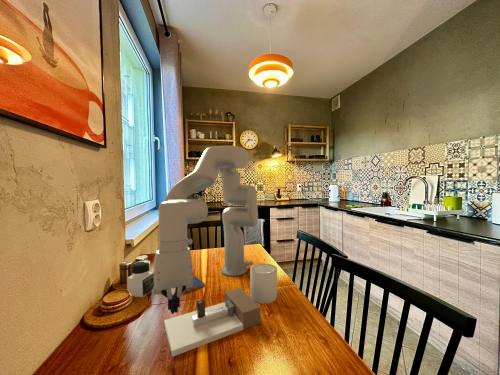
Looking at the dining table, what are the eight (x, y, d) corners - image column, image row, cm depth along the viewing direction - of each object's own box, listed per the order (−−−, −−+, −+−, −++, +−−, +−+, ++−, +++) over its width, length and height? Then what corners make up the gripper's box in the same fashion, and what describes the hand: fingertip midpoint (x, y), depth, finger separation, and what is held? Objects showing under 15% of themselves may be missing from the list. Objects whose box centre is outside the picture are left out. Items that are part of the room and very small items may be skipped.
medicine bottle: (143, 297, 82) (142, 266, 82) (126, 296, 84) (126, 265, 83) (155, 288, 89) (154, 260, 89) (139, 287, 91) (139, 259, 90)
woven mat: (206, 287, 91) (206, 282, 91) (181, 296, 84) (181, 290, 84) (195, 279, 99) (195, 274, 99) (172, 286, 92) (172, 281, 92)
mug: (244, 288, 89) (243, 262, 89) (266, 284, 92) (266, 259, 92) (256, 305, 76) (256, 275, 76) (282, 300, 80) (281, 271, 79)
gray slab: (172, 356, 54) (171, 337, 54) (164, 325, 66) (163, 308, 66) (260, 323, 67) (260, 307, 67) (240, 301, 79) (239, 288, 79)
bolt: (193, 327, 62) (193, 306, 62) (191, 322, 65) (191, 302, 64) (231, 314, 68) (231, 295, 68) (228, 310, 70) (228, 292, 70)
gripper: (196, 239, 67) (196, 298, 67) (142, 245, 60) (143, 311, 60) (203, 244, 61) (203, 309, 61) (144, 252, 54) (145, 327, 54)
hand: (173, 310), depth 61 cm, fingers closed
